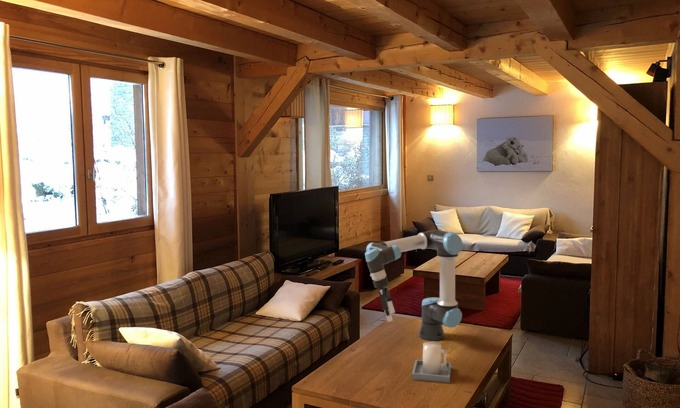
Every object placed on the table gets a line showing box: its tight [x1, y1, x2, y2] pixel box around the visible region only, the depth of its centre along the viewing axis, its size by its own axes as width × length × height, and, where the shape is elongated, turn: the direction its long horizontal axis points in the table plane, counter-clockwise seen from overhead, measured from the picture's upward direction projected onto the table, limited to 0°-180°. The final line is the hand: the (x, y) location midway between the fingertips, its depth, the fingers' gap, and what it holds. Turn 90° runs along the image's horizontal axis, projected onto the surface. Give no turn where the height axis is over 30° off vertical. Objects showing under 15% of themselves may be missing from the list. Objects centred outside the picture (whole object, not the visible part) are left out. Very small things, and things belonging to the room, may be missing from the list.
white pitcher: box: [422, 340, 447, 375], centre depth 280 cm, size 9×12×14 cm
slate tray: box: [411, 359, 452, 384], centre depth 281 cm, size 18×18×3 cm
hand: (391, 317), depth 296 cm, fingers open, 13 cm apart
